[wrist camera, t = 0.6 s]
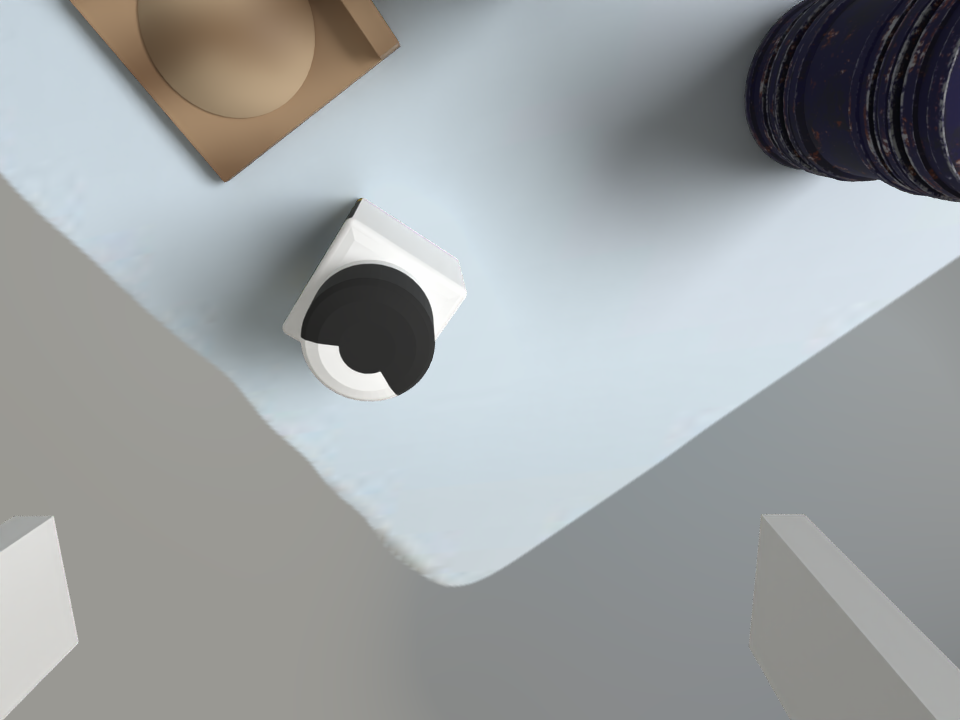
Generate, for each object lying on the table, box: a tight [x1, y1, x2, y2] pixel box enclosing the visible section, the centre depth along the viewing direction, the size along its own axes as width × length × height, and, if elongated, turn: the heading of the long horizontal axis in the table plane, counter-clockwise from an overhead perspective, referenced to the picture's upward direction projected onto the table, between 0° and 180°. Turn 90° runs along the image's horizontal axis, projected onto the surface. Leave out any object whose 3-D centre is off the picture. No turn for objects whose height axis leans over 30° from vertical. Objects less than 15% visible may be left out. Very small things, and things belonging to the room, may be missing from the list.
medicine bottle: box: [282, 198, 467, 401], centre depth 33 cm, size 7×7×12 cm
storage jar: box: [745, 0, 960, 202], centre depth 29 cm, size 10×10×15 cm
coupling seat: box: [70, 0, 400, 182], centre depth 31 cm, size 11×12×3 cm
